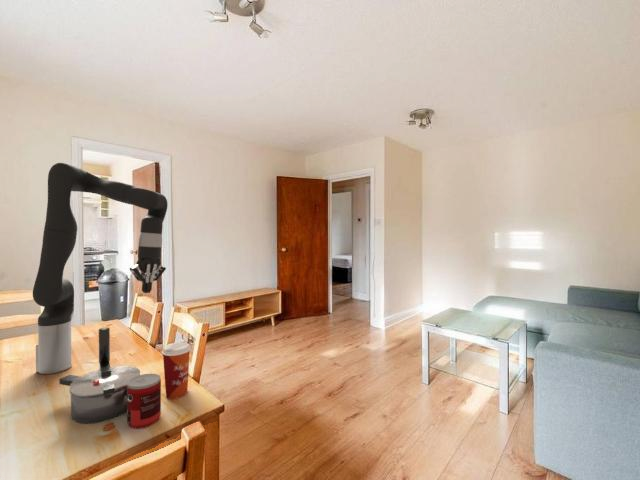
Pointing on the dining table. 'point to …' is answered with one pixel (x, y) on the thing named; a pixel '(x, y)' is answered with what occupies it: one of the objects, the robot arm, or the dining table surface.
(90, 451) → the dining table surface
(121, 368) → the lid
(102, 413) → the pot
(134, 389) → the canned food
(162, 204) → the robot arm
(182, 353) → the coffee cup
